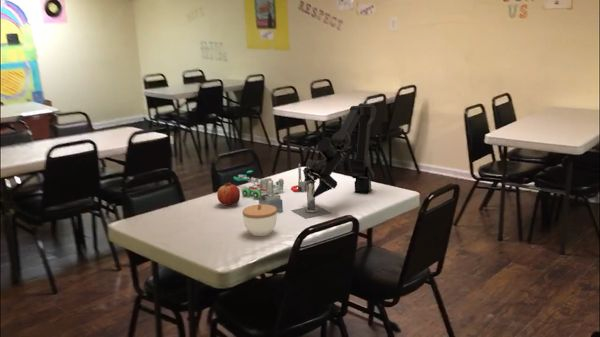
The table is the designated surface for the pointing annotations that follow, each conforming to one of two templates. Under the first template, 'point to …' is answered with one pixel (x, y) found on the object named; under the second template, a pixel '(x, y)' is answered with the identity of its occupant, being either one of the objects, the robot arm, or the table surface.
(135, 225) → the table surface
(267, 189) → the vise
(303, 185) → the flanged metal post
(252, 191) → the robot kit
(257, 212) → the lidded bowl
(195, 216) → the table surface
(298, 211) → the mat
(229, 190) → the fruit
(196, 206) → the table surface
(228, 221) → the table surface
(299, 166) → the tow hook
